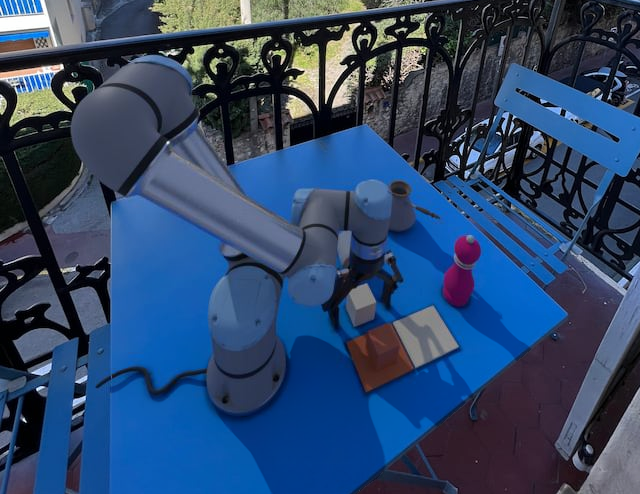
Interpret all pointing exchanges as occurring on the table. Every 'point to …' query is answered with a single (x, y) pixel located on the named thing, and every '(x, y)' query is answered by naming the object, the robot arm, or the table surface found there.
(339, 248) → the ceramic mug
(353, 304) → the cream block
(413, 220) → the coffee pot
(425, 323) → the cream mat
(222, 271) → the table surface
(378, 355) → the terracotta block
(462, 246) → the pepper mill
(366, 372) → the terracotta mat
